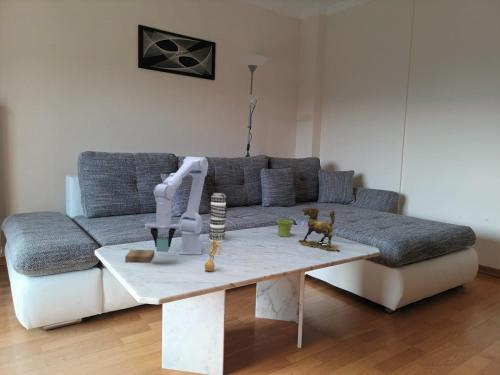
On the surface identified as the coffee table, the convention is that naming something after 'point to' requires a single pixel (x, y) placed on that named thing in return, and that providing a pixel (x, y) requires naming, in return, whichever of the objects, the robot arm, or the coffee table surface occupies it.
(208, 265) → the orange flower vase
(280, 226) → the plant pot
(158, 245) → the teal block
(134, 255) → the walnut block
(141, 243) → the coffee table surface
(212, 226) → the decorative candle
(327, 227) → the figurine
